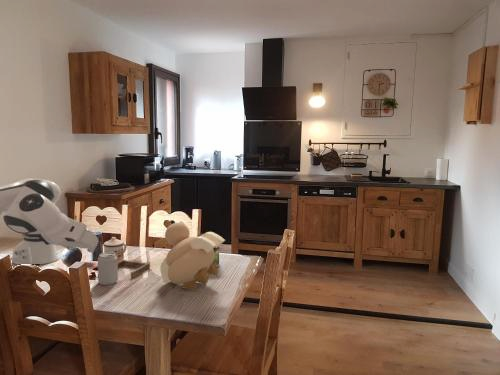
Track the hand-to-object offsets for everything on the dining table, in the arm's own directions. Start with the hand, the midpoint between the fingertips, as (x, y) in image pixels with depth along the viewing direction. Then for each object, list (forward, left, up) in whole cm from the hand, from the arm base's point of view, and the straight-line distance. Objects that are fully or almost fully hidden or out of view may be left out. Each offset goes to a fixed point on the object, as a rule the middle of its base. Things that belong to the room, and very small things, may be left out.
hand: (81, 249), depth 139 cm
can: (0, +14, -18) cm, 23 cm away
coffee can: (+30, +48, -18) cm, 60 cm away
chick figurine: (+33, +21, -18) cm, 43 cm away
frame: (0, +27, -18) cm, 32 cm away
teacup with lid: (-14, +39, -18) cm, 45 cm away
